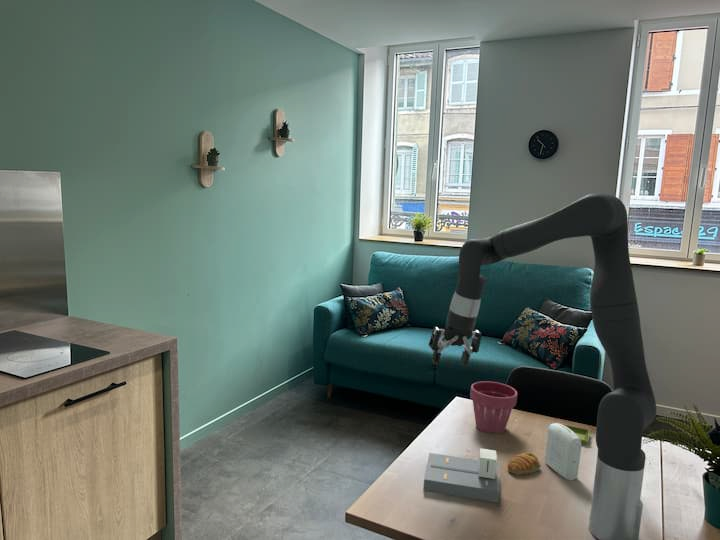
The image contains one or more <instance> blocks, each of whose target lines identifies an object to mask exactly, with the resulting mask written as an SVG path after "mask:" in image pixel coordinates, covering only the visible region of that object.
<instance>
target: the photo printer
mask: <svg viewBox="0 0 720 540" xmlns="http://www.w3.org/2000/svg"><path fill="white" fill-rule="evenodd" d="M562 424H563V423H557V422H555V423H551V424H549V427H548V429H547V434H546V435H547V438H546V443H545V445H546V446H545V454H544V463H545V464H547V465H548V466H549V467H550V468H551V469H552V470H554V471H555V472H556V473H557V474H559V475H560V477H562V478H563V479H565V480H569V481H574V480H576V478H578V474H579V470H580V469H579V467H580V460H581V453H582V443H581V440H580V439H579V437H578V436H577V435H576V434H575V433H574V432H573V431H572V430H571V429H569V428H568V427H566V426H564V425H565V424H564V425H562Z"/></svg>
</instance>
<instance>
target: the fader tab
mask: <svg viewBox="0 0 720 540" xmlns="http://www.w3.org/2000/svg"><path fill="white" fill-rule="evenodd" d="M478 460H479V467H478V476H479V477H485V478H492V479H495V474H496V463H498V457H497V450H493V449H487V448H481V447H480V448H479V456H478Z"/></svg>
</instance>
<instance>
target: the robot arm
mask: <svg viewBox="0 0 720 540" xmlns="http://www.w3.org/2000/svg"><path fill="white" fill-rule="evenodd" d="M628 220H629V219H628V211H627V208H626V206H625V204H624V203H623V201H622V200H621V199H620V198H618V197H617V196H615V195H613V194H604V193H602V194H601V193H590V194H587V195H585V196H583V197H581V198H579V199H577V200H576V201H573V202H571V203H570V204H568V205H566V206H564V207H562V208H561V209H558V210H557V211H554V212H552V213H550V214H547V215H545V216H542V217H539V218H536V219H534V220H531V221H527V222H524V223H521V224H518V225H514V226H512V227H509V228H506V229H505V228H504V229H503V230H501V231H498V232H497V233H496V234H495V235H493V236H489V237H486V238H471V239H467V240H466V241H465V242H464V243H463V245H462V246H461V248H460V251H459V255H458V279H457V282H456V285H455V286H456V287H455V290H454V294H453V295H452V299H451V303H450V305H449V310H448V312H447V313H448V314H447V318H446V320H445V327H444V328H439V327H438V326H434V327H433V329H432V333H431V335H430V339H429V343H428V346H429V348H430V349H431V350H432V351H433V353H432V356H431V361H432V363H434V364H435V366H436V365H439V364H440V361H441V356H442V352H443V351H444V350H445V349H448V348H449V347H450V346H452V347H454V346H458V347H463V349H464V350H463V351H462V353H461V358H460V361H459V362H460V364H461V365H462V366H463V367H466V366H467V365H468V363H469V360H470V357H471V355H472V354H473V353H478V352H479V351H480V346H481V341H482V336H483V334H482V332H481V331H479V330H478V329H474V328H475V325H476V322H477V319H478V315H479V311H480V307H481V302H482V301H481V299H482V296H483V293H484V289H485V286H486V279H485V276H483V275H482V274H481V268H482V266H489V265H493V264H497V263H500V262H501V261H504V260H506V259H509V258H513V257H516V256H520V255H523V254H524V255H525V254H526V253H530V252H534V251H536V250H538V249H540V248H543V247H544V246H546V245H549V244H552V243H554V242H557V241H561V240H566V239H573V238H580V237H590V238H591V243H592V248H593V253H594V268H593V274H592V280H591V284H590V285H591V286H590V292H589V304H590V311H591V316H592V324H593V328H594V331H595V335H596V336H597V339H598V340H599V342H600V344H601V346H602V348H603V350H604V351H605V353H606V355H607V357H608V360H609V362H610V366H611V367H610V368H611V373H612V374H611V375H612V382H613V383H612V386H613V390H611V392H608V393H607V394H605V395H604V396H603V397H602V398H601V400H600V402H599V405H598V409H597V419H596V431H595V432H596V433H595V445H596V447H597V456H596V463H595V473H594V481H593V490H592V498H591V505H590V506H591V507H590V514H589V521H588V522H589V523H588V530H589V532H590V533H591V534H592V535H593V536H594V537H595V538H596V539H598V540H639V537H640V530H641V523H642V516H643V508H644V504H643V502H642V500H641V495H642V489H643V481H644V473H645V465H646V458H647V457H646V456H647V455H646V453H645V451H644V450H643V449H642V441H643V433H644V429H646V428H647V427H648V426H650V425H651V424H652V423H653V421H654V420H655V418H656V415H657V402H656V399H655V395H654V391H653V387H652V384H651V380H650V376H649V373H648V367H647V364H646V358H645V348H644V340H643V334H642V327H641V320H640V319H641V316H640V312H639V311H640V310H639V304H638V298H637V293H636V292H637V291H636V289H635V288H636V287H635V281H634V275H633V269H632V264H631V259H630V251H629V230H628V229H629V227H628ZM442 335H443V336H442ZM471 338H472V339H471ZM470 339H471V344H470V343H469V340H470Z"/></svg>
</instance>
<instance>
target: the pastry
mask: <svg viewBox="0 0 720 540" xmlns="http://www.w3.org/2000/svg"><path fill="white" fill-rule="evenodd" d="M541 467H542V466H541V463H540V461H539V459H538V457H537V455H535V454H534V453H532V452H527V451H525V452H521V454H516V455H514V457H512V458H511V459H510V461H509V463H508V464H507V471H508V472H509V473H511V474H514V475H517V476H523V475H524V476H525V475H531V474H533V473H536V472H538V471H539V470H540V469H541Z"/></svg>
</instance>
